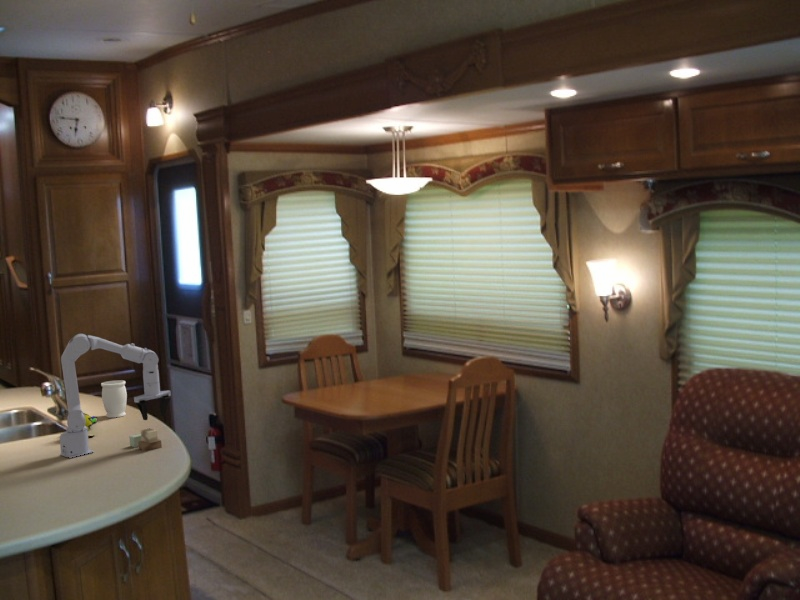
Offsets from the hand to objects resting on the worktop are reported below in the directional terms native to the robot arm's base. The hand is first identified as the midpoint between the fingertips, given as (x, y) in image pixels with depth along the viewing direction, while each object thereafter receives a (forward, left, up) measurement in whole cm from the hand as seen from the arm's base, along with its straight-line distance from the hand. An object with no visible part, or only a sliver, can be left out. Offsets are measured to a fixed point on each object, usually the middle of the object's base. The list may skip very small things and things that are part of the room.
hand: (154, 417), depth 342 cm
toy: (-6, +44, -10) cm, 46 cm away
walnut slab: (-5, -4, -10) cm, 12 cm away
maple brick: (-5, -4, -7) cm, 10 cm away
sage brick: (-5, +3, -10) cm, 12 cm away
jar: (+16, +60, -10) cm, 63 cm away
